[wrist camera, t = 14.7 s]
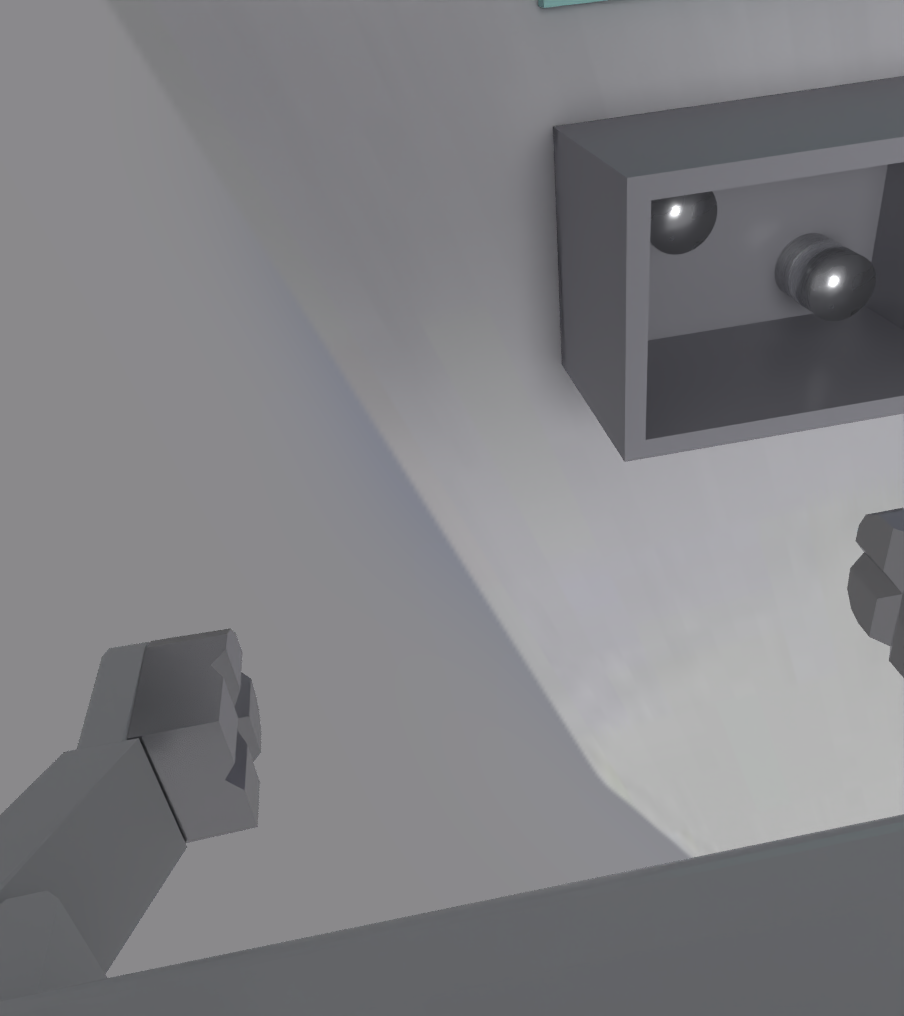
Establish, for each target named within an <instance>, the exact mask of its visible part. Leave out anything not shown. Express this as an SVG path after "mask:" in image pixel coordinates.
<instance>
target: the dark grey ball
mask: <svg viewBox="0 0 904 1016" xmlns="http://www.w3.org/2000/svg"><path fill="white" fill-rule="evenodd" d="M716 218H717V202H716V198H715V196H714V194H713V192H712V191H710V192H703V193H696V194H690V195H683V196H677V197H670V198H663V199H657V200H651V231H650V243H651V244H652V245H653V246H654V247H655V248H657V249H658V250H660V251H661V252H664V253H666V254H671V255H678V254H684V253H687V252H689V251H692V250H694V249H695V248H697V247H698V246H699V245H701V244H702V243H703V242H704V241H705V240H706V238H707V237H708V236H709V234H710V233H711V231H712V229H713V227H714V225H715V222H716Z"/></svg>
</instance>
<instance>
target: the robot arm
mask: <svg viewBox="0 0 904 1016" xmlns="http://www.w3.org/2000/svg"><path fill="white" fill-rule="evenodd" d="M856 542H857V543H858V545H859V546H860V547H861V549H862V550H863V551H864V553H863V554H862V556H861V557H860V558H859V559H858V560H857V561H856V562H855V564H854V565H853V566H852V567H851V568H850V574H849V581H848V588H847V590H848V595H849V600H850V605H851V609H852V611H853V613H854V615H855V617H856V619H857V621H858V623H859V625H860V626H861V627H862V628H863V630H864V631H865V632H866V633H867V635H868V636H869V637H871V638H873V639H875V640H878V641H880V642H882V643H884V644H886V645H889V646H890V655H889V661H890V662H891V663H892V665H893V666H894V667H895V668H896V669H897V671H898V672H899V673H900V674H901V675H902V676H903V678H904V508H900V509H894V510H889V511H883V512H878V513H873V514H867V515H865V517H864V518H863V520H862V521H861V523H860V524H859V528H858V532H857V537H856ZM241 669H242V650H241V647H240V644H239V642H238V639H237V636H236V633H235V632H234V631H233V630H232V629H224V630H218V631H212V632H206V633H199V634H193V635H187V636H180V637H174V638H167V639H162V640H155V641H151V642H145V643H139V644H133V645H128V646H121V647H115V648H109V649H108V650H107V652H106V653H105V654H104V655H103V656H102V659H101V662H100V666H99V670H98V673H97V677H96V681H95V684H94V688H93V692H92V695H91V699H90V703H89V706H88V710H87V713H86V717H85V721H84V725H83V728H82V732H81V736H80V739H79V743H78V747H77V750H72V751H67V752H64V753H63V754H62V755H61V756H60V757H59V758H58V759H57V760H56V761H55V762H54V763H53V764H52V765H51V766H50V767H49V768H48V769H47V770H46V771H44V772H43V773H42V774H41V775H40V777H38V778H37V779H36V780H35V781H34V782H33V783H32V784H31V785H30V786H29V787H28V788H27V789H26V790H25V791H24V792H23V793H22V794H21V795H20V796H19V797H18V798H17V799H16V800H15V801H14V802H13V803H12V804H11V805H10V806H9V807H8V808H7V809H6V810H5V811H4V812H3V813H2V814H1V815H0V1016H904V814H903V815H898V816H893V817H888V818H883V819H878V820H874V821H869V822H864V823H859V824H854V825H849V826H844V827H840V828H835V829H830V830H825V831H820V832H815V833H810V834H806V835H801V836H796V837H791V838H786V839H781V840H776V841H772V842H767V843H762V844H757V845H752V846H747V847H742V848H738V849H733V850H728V851H723V852H718V853H713V854H708V855H704V856H699V857H694V858H689V859H684V860H679V861H675V862H670V863H665V864H660V865H655V866H650V867H645V868H641V869H636V870H631V871H626V872H621V873H617V874H611V875H607V876H602V877H597V878H592V879H587V880H582V881H578V882H573V883H568V884H563V885H558V886H553V887H548V888H544V889H539V890H534V891H529V892H525V893H519V894H514V895H510V896H505V897H500V898H495V899H491V900H485V901H480V902H475V903H471V904H466V905H461V906H456V907H451V908H446V909H442V910H437V911H432V912H427V913H422V914H418V915H412V916H408V917H403V918H398V919H393V920H389V921H384V922H379V923H374V924H369V925H364V926H359V927H354V928H350V929H344V930H340V931H335V932H331V933H325V934H321V935H315V936H311V937H306V938H301V939H296V940H291V941H286V942H281V943H277V944H272V945H267V946H262V947H258V948H252V949H247V950H243V951H238V952H233V953H228V954H223V955H219V956H213V957H209V958H204V959H199V960H194V961H189V962H185V963H180V964H175V965H170V966H165V967H160V968H155V969H150V970H146V971H141V972H136V973H131V974H126V975H121V976H117V977H112V978H107V977H106V975H105V974H106V972H107V971H108V969H109V968H110V966H111V965H112V963H113V961H114V960H115V958H116V957H117V955H118V954H119V952H120V950H121V949H122V947H123V946H124V944H125V943H126V941H127V940H128V938H129V936H130V935H131V933H132V932H133V930H134V929H135V927H136V926H137V924H138V923H139V921H140V919H141V918H142V916H143V915H144V913H145V912H146V910H147V909H148V907H149V905H150V904H151V902H152V901H153V899H154V898H155V896H156V895H157V893H158V891H159V890H160V888H161V887H162V885H163V884H164V882H165V881H166V879H167V877H168V876H169V874H170V873H171V871H172V870H173V868H174V866H175V865H176V863H177V862H178V860H179V859H180V857H181V856H182V854H183V853H184V851H185V849H186V848H187V846H186V843H188V842H192V841H197V840H201V839H205V838H210V837H214V836H219V835H224V834H228V833H233V832H237V831H242V830H246V829H250V828H255V827H258V809H259V807H258V806H259V786H260V781H259V778H258V775H257V772H256V769H255V766H254V763H253V762H254V760H255V759H256V758H257V757H258V755H259V754H260V753H261V725H260V715H259V708H258V703H257V698H256V694H255V690H254V687H253V684H252V680H251V678H249V677H248V676H246V675H245V674H243V673H242V672H241Z"/></svg>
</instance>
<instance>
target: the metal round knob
mask: <svg viewBox="0 0 904 1016" xmlns="http://www.w3.org/2000/svg"><path fill="white" fill-rule="evenodd" d="M775 281H776V283H777V286H778V287H779V289H780V290H781V291H782V292H784V293H785V294H786V295H788V296H789V297H791V298H792V299H794V300H795V301H796V302H798V303H799V304H801V305H802V306H804V307H805V308H806V309H808V310H809V311H811V312H812V313H813V314H815V315H816V316H818V317H819V318H821V319H823V320H826V321H840V320H844V319H846V318H848V317H851V316H852V315H854V314H855V313H857V312H858V311H859V310H860V309H861V308H862V307H863V306H864V305H865V304H866V303H867V301H868V300H869V298H870V297H871V295H872V292H873V290H874V287H875V281H876V274H875V269H874V267H873V265H872V263H871V262H870V261H869V260H868V259H867V258H865V257H863V256H862V255H860V254H858V253H856V252H854V251H852V250H851V249H849V248H847V247H845V246H843V245H841V244H840V243H838V242H836V241H834V240H832V239H830V238H828V237H827V236H825V235H822V234H819V233H808V234H804V235H801V236H799V237H797V238H796V239H794V240H793V241H791V242H790V243H789V244H788V245H787V246H786V247H785V248H784V249H783V251H782V252H781V254H780V256H779V257H778V260H777V262H776V266H775Z"/></svg>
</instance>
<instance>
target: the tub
mask: <svg viewBox="0 0 904 1016" xmlns="http://www.w3.org/2000/svg"><path fill="white" fill-rule="evenodd" d="M553 132H554V160H555V187H556V215H557V243H558V270H559V298H560V326H561V354H562V365H563V367H564V368H565V370H566V372H567V373H568V375H569V376H570V378H571V379H572V381H573V382H574V384H575V386H576V387H577V389H578V390H579V392H580V393H581V395H582V396H583V398H584V399H585V401H586V403H587V404H588V406H589V407H590V409H591V410H592V412H593V413H594V415H595V416H596V418H597V420H598V421H599V423H600V424H601V426H602V427H603V429H604V430H605V432H606V434H607V435H608V437H609V438H610V440H611V441H612V443H613V444H614V446H615V447H616V449H617V451H618V452H619V454H620V455H621V457H622V458H623V460H624V461H625V462H626V461H632V460H638V459H643V458H649V457H655V456H661V455H667V454H672V453H678V452H684V451H690V450H695V449H701V448H707V447H713V446H718V445H724V444H730V443H736V442H741V441H747V440H753V439H759V438H765V437H770V436H776V435H782V434H788V433H793V432H799V431H805V430H811V429H816V428H822V427H828V426H834V425H839V424H845V423H851V422H857V421H863V420H868V419H874V418H880V417H886V416H891V415H897V414H903V413H904V76H902V77H895V78H888V79H881V80H874V81H867V82H860V83H853V84H846V85H839V86H832V87H826V88H819V89H812V90H805V91H798V92H791V93H784V94H777V95H770V96H763V97H756V98H749V99H742V100H735V101H728V102H721V103H714V104H707V105H701V106H694V107H687V108H680V109H673V110H666V111H659V112H652V113H645V114H638V115H631V116H624V117H617V118H610V119H603V120H596V121H589V122H583V123H576V124H569V125H562V126H555V127H553ZM710 191H712V192H713V194H714V196H715V198H716V202H717V218H716V222H715V225H714V227H713V229H712V231H711V233H710V234H709V236H708V237H707V238H706V240H705V241H704V242H703V243H702V244H701V245H699V246H698V247H697V248H695V249H694V250H692V251H689V252H687V253H684V254H678V255H671V254H666V253H664V252H661V251H660V250H658V249H657V248H655V247H654V246H653V245H652V244H651V243H650V231H651V200H657V199H663V198H670V197H677V196H683V195H690V194H696V193H703V192H710ZM808 233H819V234H822V235H825V236H827V237H828V238H830V239H832V240H834V241H836V242H838V243H840V244H841V245H843V246H845V247H847V248H849V249H851V250H852V251H854V252H856V253H858V254H860V255H862V256H863V257H865V258H867V259H868V260H869V261H870V262H871V263H872V265H873V267H874V269H875V274H876V281H875V287H874V290H873V292H872V295H871V297H870V298H869V300H868V301H867V303H866V304H865V305H864V306H863V307H862V308H861V309H860V310H859V311H858V312H857V313H855V314H854V315H852V316H851V317H848V318H846V319H844V320H840V321H826V320H823V319H821V318H819V317H818V316H816V315H815V314H813V313H812V312H811V311H809V310H808V309H806V308H805V307H804V306H802V305H801V304H799V303H798V302H796V301H795V300H794V299H792V298H791V297H789V296H788V295H786V294H785V293H784V292H782V291H781V290H780V289H779V287H778V286H777V283H776V281H775V266H776V262H777V260H778V257H779V256H780V254H781V252H782V251H783V249H784V248H785V247H786V246H787V245H788V244H789V243H790V242H791V241H793V240H794V239H796V238H797V237H799V236H801V235H804V234H808Z"/></svg>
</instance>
